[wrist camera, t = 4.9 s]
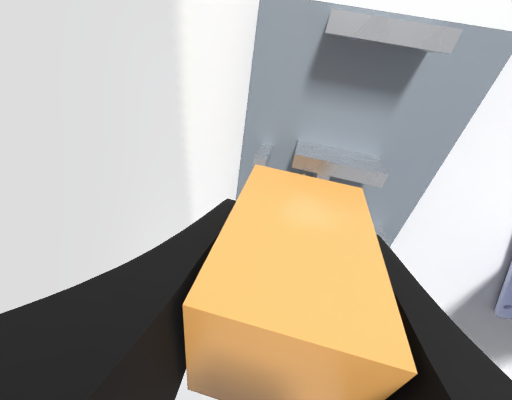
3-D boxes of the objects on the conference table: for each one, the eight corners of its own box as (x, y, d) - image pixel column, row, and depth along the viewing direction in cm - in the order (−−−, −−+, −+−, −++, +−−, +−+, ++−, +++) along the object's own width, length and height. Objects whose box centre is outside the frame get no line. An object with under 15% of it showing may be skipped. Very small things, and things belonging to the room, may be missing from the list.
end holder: (373, 168, 15) (382, 187, 13) (294, 151, 16) (291, 167, 14) (436, 32, 11) (462, 29, 9) (329, 15, 12) (331, 8, 10)
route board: (350, 297, 23) (351, 307, 22) (230, 264, 24) (227, 273, 23) (509, 34, 11) (526, 33, 11) (264, -5, 13) (260, -8, 12)
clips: (370, 245, 18) (376, 269, 16) (250, 215, 19) (242, 234, 17) (409, 175, 15) (423, 195, 13) (262, 143, 16) (254, 157, 14)
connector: (328, 262, 11) (336, 438, 6) (244, 240, 11) (187, 389, 7) (362, 188, 9) (418, 373, 4) (255, 164, 9) (182, 304, 4)
